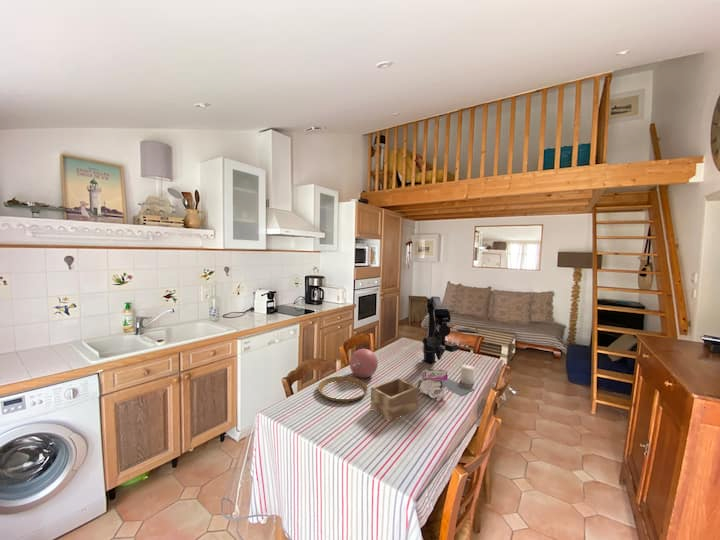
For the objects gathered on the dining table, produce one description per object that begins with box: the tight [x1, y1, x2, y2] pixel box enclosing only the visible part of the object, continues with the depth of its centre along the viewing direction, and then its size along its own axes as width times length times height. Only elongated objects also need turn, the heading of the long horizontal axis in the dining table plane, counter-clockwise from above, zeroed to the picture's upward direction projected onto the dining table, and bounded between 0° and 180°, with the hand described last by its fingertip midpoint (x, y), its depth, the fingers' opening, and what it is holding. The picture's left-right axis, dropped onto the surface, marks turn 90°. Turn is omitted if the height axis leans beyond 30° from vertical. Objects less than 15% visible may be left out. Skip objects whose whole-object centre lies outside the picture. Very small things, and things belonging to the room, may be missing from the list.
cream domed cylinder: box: [459, 364, 476, 385], centre depth 162 cm, size 7×7×8 cm
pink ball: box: [349, 348, 379, 379], centre depth 162 cm, size 15×20×15 cm
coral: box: [418, 379, 448, 402], centre depth 145 cm, size 12×7×12 cm
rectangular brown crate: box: [370, 377, 419, 422], centre depth 131 cm, size 12×17×10 cm
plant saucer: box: [317, 375, 368, 403], centre depth 146 cm, size 24×24×3 cm
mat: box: [436, 378, 475, 397], centre depth 154 cm, size 17×16×1 cm
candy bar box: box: [421, 369, 449, 382], centre depth 155 cm, size 11×5×16 cm
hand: (438, 359), depth 160 cm, fingers closed
